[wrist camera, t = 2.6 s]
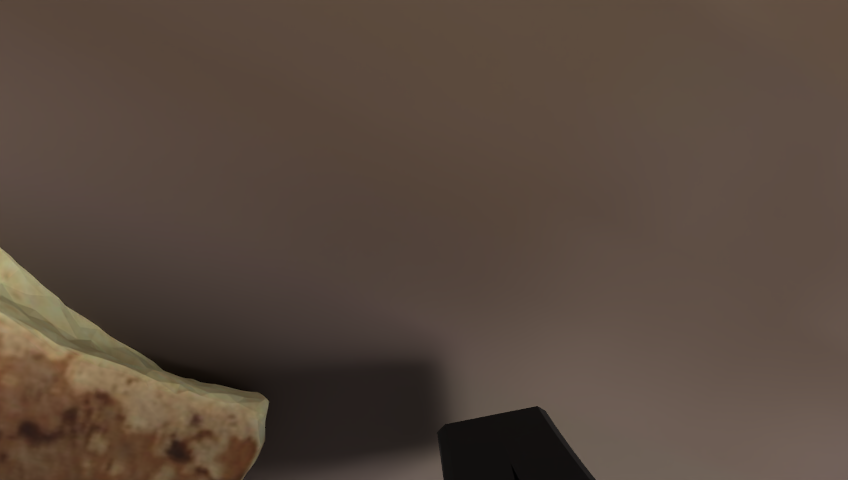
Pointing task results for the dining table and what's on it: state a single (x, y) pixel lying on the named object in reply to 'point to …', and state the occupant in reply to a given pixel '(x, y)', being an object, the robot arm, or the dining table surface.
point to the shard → (107, 402)
